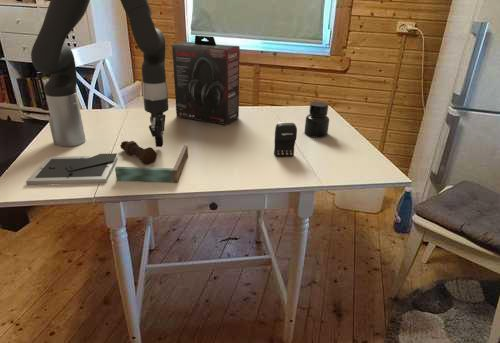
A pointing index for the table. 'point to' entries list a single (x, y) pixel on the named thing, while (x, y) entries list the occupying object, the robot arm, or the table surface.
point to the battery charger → (285, 139)
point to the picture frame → (74, 170)
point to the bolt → (139, 152)
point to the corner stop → (154, 171)
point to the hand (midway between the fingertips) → (159, 146)
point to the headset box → (206, 80)
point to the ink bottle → (317, 120)
